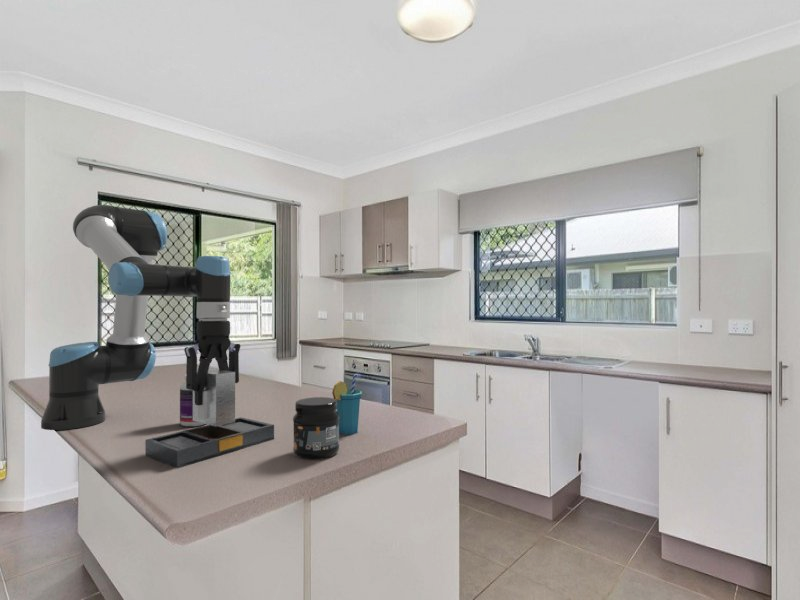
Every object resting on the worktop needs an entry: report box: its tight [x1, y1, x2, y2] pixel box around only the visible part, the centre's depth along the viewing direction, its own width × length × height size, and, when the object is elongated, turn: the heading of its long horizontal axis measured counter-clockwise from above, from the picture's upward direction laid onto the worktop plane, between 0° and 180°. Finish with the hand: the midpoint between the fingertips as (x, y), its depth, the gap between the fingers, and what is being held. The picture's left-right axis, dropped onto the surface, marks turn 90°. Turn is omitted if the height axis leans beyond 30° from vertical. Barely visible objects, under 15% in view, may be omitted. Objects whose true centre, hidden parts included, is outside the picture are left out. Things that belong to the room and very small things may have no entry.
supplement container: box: [292, 396, 340, 461], centre depth 102 cm, size 10×10×12 cm
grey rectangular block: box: [193, 368, 236, 426], centre depth 107 cm, size 10×5×12 cm, turn 54°
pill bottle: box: [179, 374, 205, 428], centre depth 128 cm, size 8×8×14 cm
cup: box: [331, 373, 362, 436], centre depth 120 cm, size 14×8×15 cm, turn 161°
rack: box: [144, 416, 275, 469], centre depth 107 cm, size 14×25×4 cm, turn 144°
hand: (213, 415), depth 107 cm, fingers closed on grey rectangular block, 5 cm apart
